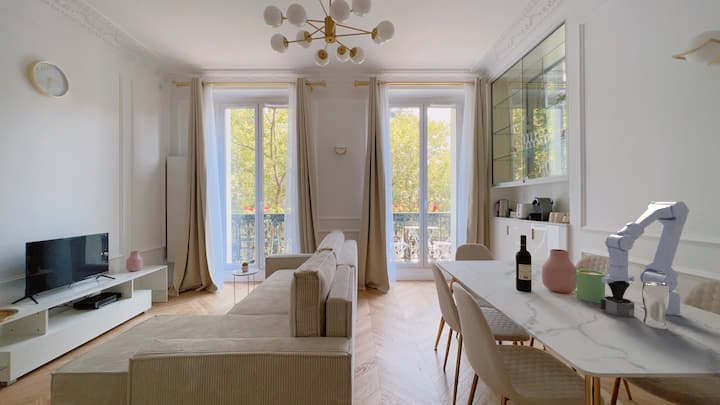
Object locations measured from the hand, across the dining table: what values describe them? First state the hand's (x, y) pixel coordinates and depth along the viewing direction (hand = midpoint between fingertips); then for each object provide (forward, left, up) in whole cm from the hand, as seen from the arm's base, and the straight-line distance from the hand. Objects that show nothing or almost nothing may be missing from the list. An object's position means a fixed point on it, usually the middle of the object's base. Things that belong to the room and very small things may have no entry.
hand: (617, 300), depth 120 cm
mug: (+5, -17, -5) cm, 19 cm away
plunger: (0, 0, -4) cm, 5 cm away
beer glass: (-7, +10, -5) cm, 13 cm away
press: (0, 0, -5) cm, 5 cm away
